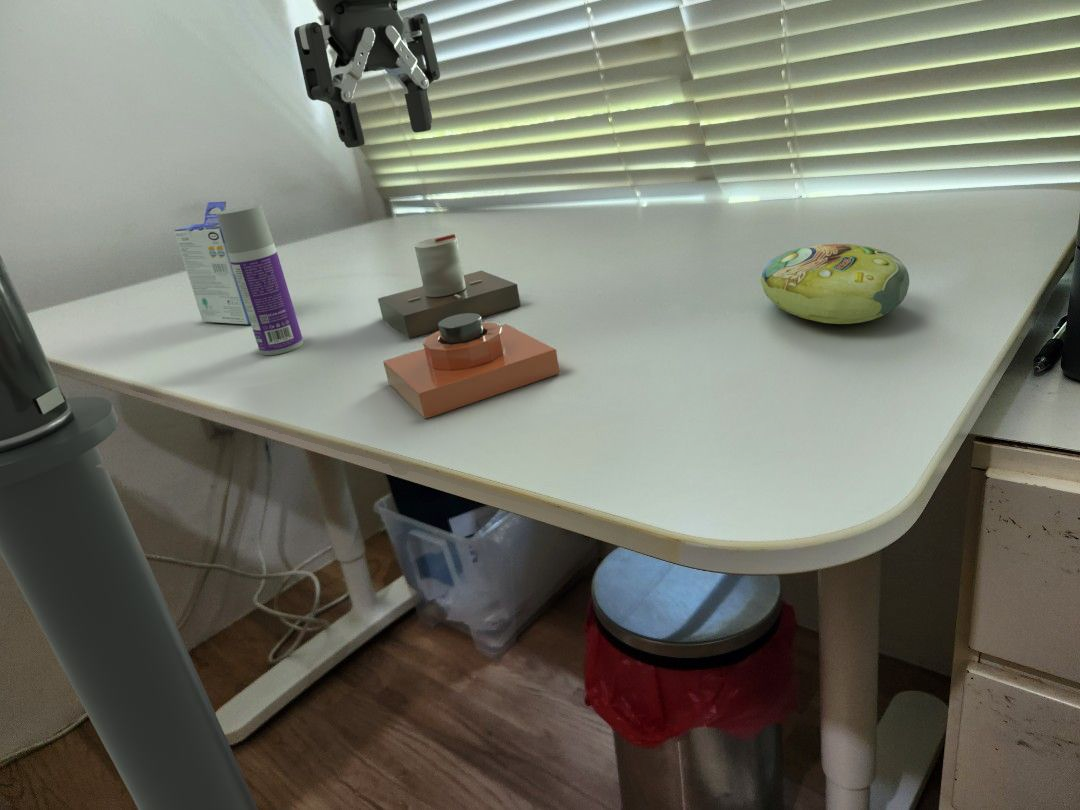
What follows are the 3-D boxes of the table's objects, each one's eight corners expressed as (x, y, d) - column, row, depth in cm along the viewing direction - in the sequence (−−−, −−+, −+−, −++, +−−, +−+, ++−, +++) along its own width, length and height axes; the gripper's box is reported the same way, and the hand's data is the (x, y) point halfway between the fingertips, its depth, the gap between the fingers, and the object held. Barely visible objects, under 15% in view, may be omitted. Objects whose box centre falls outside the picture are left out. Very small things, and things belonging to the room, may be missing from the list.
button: (451, 350, 60) (446, 330, 60) (436, 340, 63) (432, 321, 63) (491, 338, 62) (487, 318, 61) (475, 329, 65) (471, 310, 64)
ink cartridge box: (284, 311, 96) (250, 197, 90) (249, 326, 92) (211, 207, 86) (236, 309, 101) (201, 201, 96) (201, 323, 97) (162, 211, 92)
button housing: (425, 419, 58) (413, 371, 56) (388, 383, 66) (377, 341, 64) (560, 373, 62) (553, 328, 60) (509, 345, 70) (502, 305, 69)
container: (311, 338, 83) (271, 201, 77) (290, 353, 79) (246, 210, 73) (274, 341, 84) (232, 207, 78) (251, 356, 80) (205, 216, 74)
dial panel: (409, 338, 77) (403, 314, 76) (382, 319, 86) (377, 297, 85) (520, 305, 82) (516, 282, 81) (485, 290, 90) (481, 268, 89)
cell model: (805, 321, 57) (736, 220, 68) (811, 387, 63) (746, 284, 73) (946, 270, 56) (853, 175, 67) (939, 342, 62) (854, 244, 72)
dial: (433, 299, 80) (421, 246, 78) (419, 292, 84) (408, 241, 82) (472, 289, 82) (462, 236, 79) (457, 282, 86) (447, 231, 83)
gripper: (381, -45, 73) (418, 130, 79) (253, -44, 63) (306, 154, 70) (433, -63, 68) (468, 124, 75) (303, -65, 59) (355, 149, 65)
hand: (390, 138), depth 72 cm, fingers open, 8 cm apart
